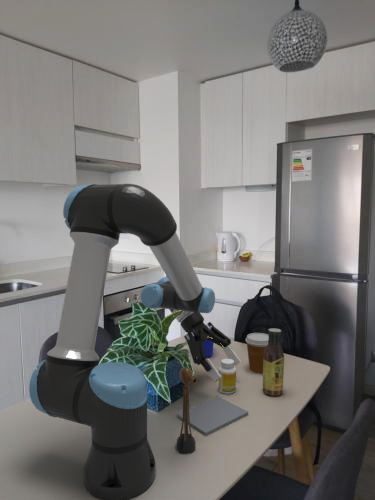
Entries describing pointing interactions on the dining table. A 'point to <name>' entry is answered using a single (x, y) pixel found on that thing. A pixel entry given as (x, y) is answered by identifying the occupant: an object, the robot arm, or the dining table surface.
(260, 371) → the disposable coffee cup
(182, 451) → the wooden tabletop sculpture
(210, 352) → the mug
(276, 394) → the sauce bottle
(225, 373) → the supplement bottle
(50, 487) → the dining table surface
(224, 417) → the mat
